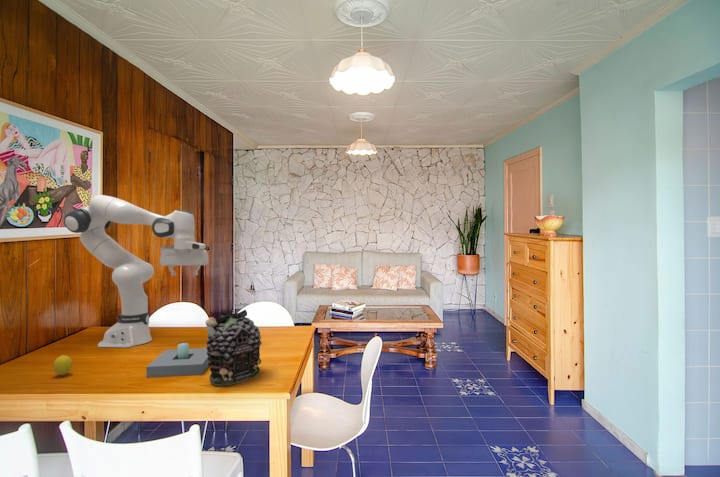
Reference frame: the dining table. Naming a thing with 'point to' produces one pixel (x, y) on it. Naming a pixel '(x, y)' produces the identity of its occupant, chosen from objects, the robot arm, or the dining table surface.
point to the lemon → (62, 365)
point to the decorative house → (232, 348)
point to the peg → (183, 351)
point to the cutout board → (178, 364)
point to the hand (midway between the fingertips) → (184, 275)
